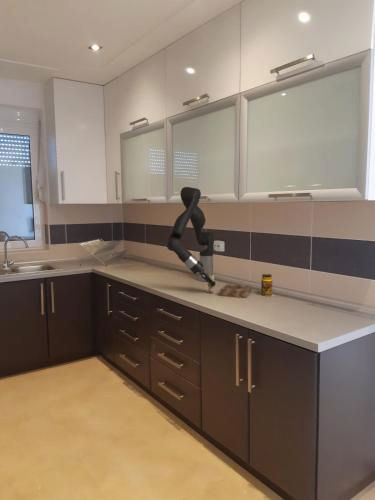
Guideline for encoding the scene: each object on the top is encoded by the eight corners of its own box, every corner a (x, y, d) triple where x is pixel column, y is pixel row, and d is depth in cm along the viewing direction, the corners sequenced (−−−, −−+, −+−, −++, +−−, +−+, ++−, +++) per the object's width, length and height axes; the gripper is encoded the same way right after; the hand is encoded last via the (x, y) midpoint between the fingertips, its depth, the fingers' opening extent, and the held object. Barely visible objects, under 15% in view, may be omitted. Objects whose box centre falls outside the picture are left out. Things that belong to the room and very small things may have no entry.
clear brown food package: (220, 296, 222) (220, 289, 221) (226, 290, 235) (226, 284, 234) (246, 298, 216) (246, 290, 216) (251, 292, 229) (251, 285, 229)
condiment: (264, 297, 218) (264, 276, 217) (256, 294, 226) (256, 273, 225) (275, 296, 221) (276, 275, 219) (267, 292, 229) (268, 272, 227)
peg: (206, 292, 228) (206, 275, 227) (208, 291, 232) (208, 274, 230) (213, 293, 227) (213, 276, 225) (215, 291, 230) (215, 274, 229)
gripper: (198, 261, 220) (219, 282, 221) (198, 257, 234) (218, 277, 235) (188, 270, 221) (210, 291, 222) (189, 266, 235) (209, 286, 236)
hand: (214, 284), depth 229 cm, fingers closed on peg, 3 cm apart
